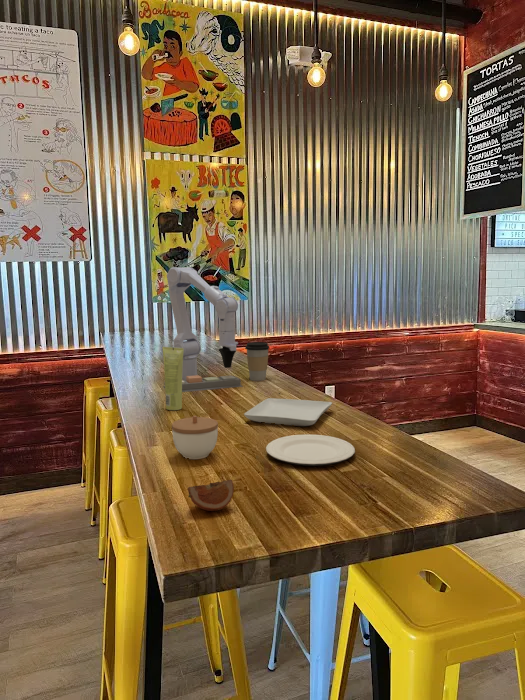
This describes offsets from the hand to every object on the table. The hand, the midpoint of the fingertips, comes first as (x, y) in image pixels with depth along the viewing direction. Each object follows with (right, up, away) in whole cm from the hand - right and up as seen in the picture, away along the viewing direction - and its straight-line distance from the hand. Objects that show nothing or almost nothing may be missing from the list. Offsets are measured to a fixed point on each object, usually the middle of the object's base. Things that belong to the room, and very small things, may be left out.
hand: (227, 367), depth 200 cm
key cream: (-18, -7, -6) cm, 20 cm away
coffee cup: (+11, -6, +10) cm, 16 cm away
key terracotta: (-12, -5, -4) cm, 14 cm away
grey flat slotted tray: (-9, -8, -3) cm, 12 cm away
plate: (+24, -19, -73) cm, 79 cm away
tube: (-15, -12, -30) cm, 36 cm away
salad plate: (+21, -14, -41) cm, 48 cm away
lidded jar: (-3, -18, -73) cm, 75 cm away
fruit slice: (+3, -23, -101) cm, 104 cm away
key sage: (-6, -6, -2) cm, 9 cm away
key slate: (0, -6, +1) cm, 6 cm away
